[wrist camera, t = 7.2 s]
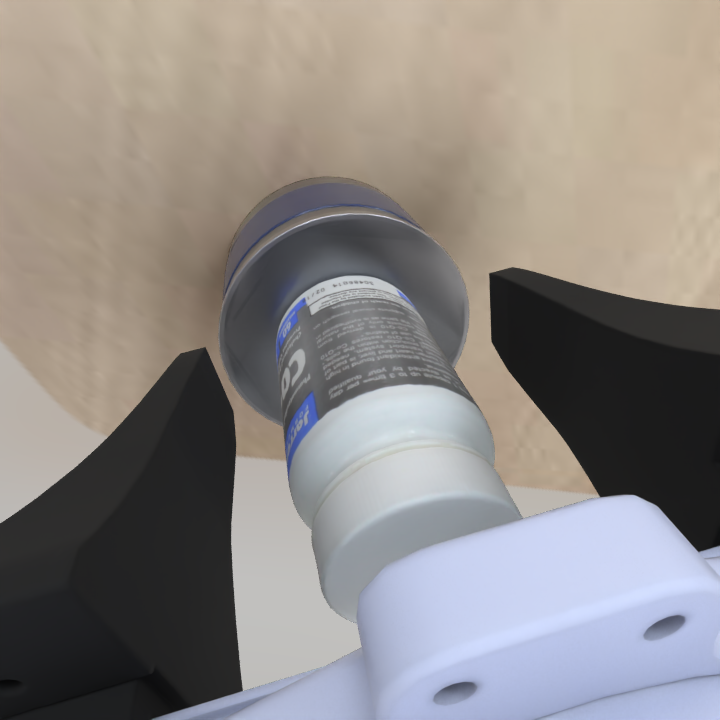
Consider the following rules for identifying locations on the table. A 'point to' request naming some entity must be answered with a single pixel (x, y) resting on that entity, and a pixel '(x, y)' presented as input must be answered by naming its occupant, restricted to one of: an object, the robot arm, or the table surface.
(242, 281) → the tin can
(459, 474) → the pill bottle
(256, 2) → the table surface
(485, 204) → the table surface
